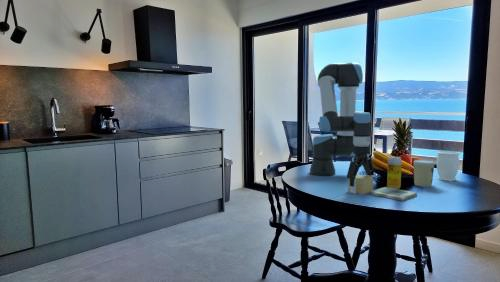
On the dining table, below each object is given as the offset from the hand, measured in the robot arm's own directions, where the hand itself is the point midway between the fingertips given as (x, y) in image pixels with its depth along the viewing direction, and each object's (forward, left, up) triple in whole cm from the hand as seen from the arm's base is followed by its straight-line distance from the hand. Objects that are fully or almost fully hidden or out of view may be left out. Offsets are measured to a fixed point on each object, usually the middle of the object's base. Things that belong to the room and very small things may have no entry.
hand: (360, 190), depth 157 cm
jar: (+17, +56, 0) cm, 59 cm away
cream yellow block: (0, 0, 0) cm, 0 cm away
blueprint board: (+13, +5, 0) cm, 14 cm away
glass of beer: (+7, +18, 0) cm, 19 cm away
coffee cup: (+14, +34, 0) cm, 37 cm away
